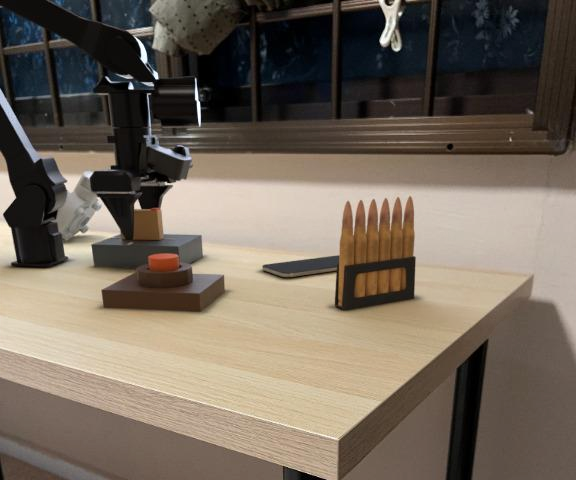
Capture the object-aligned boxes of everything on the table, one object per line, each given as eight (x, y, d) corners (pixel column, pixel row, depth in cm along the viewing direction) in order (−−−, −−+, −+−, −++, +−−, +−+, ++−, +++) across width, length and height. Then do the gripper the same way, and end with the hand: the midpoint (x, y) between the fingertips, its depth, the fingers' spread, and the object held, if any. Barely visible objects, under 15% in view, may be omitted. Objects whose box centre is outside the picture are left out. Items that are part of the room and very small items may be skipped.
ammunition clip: (343, 310, 70) (345, 202, 65) (334, 306, 72) (336, 200, 67) (414, 297, 75) (421, 196, 70) (404, 294, 76) (411, 195, 72)
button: (144, 273, 73) (143, 258, 72) (156, 267, 76) (154, 253, 75) (173, 274, 72) (172, 259, 71) (183, 267, 75) (182, 253, 75)
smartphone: (369, 262, 92) (285, 273, 84) (369, 266, 92) (285, 278, 85) (340, 254, 98) (259, 264, 90) (340, 259, 98) (259, 269, 90)
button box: (103, 307, 72) (99, 274, 70) (138, 288, 81) (135, 258, 80) (200, 312, 70) (198, 277, 68) (225, 291, 79) (223, 260, 77)
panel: (94, 267, 94) (90, 243, 93) (124, 254, 104) (122, 232, 103) (180, 269, 92) (178, 245, 90) (203, 256, 102) (201, 233, 100)
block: (121, 239, 96) (117, 208, 95) (125, 237, 98) (122, 207, 96) (159, 240, 95) (156, 209, 93) (164, 238, 97) (161, 207, 95)
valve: (110, 293, 117) (148, 236, 110) (28, 224, 115) (61, 160, 108) (136, 278, 126) (172, 224, 118) (60, 213, 124) (93, 153, 116)
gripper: (158, 127, 81) (168, 246, 87) (202, 127, 98) (208, 227, 104) (81, 128, 83) (96, 244, 89) (137, 128, 99) (146, 226, 105)
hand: (141, 234), depth 96 cm, fingers open, 9 cm apart
